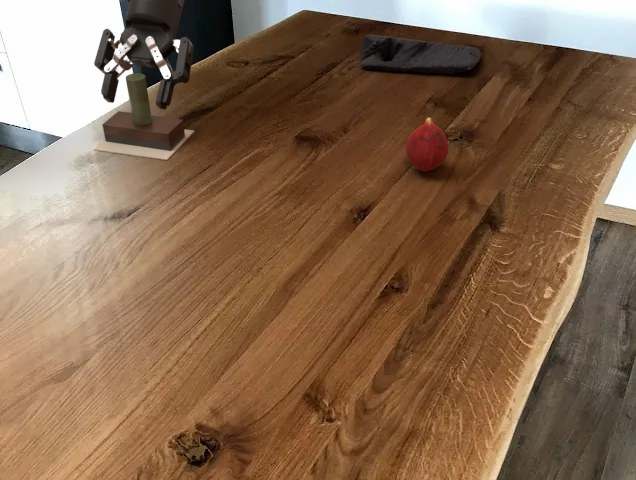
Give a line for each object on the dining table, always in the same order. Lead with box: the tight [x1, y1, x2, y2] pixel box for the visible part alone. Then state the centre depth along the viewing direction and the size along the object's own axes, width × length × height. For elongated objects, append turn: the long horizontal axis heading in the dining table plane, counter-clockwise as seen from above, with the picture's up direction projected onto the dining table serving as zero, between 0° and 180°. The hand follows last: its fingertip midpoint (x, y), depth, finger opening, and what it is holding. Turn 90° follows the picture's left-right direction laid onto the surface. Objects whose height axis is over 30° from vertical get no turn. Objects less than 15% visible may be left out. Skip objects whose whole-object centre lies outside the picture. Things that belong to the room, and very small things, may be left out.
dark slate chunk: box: [359, 34, 482, 75], centre depth 136 cm, size 15×22×5 cm
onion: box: [405, 117, 449, 173], centre depth 102 cm, size 6×6×8 cm
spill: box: [93, 128, 195, 161], centre depth 112 cm, size 12×10×1 cm
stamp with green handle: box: [102, 72, 185, 151], centre depth 109 cm, size 11×5×10 cm, turn 73°
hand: (134, 104), depth 107 cm, fingers open, 8 cm apart
